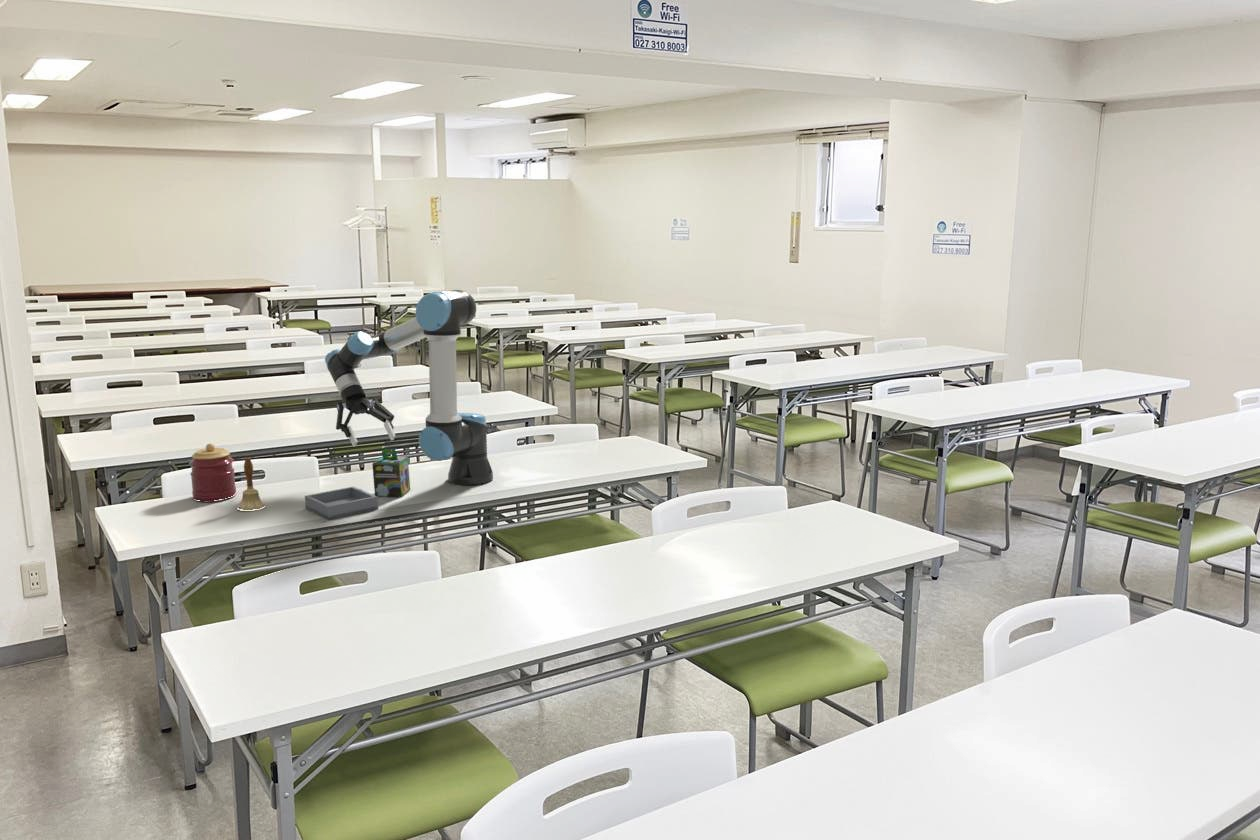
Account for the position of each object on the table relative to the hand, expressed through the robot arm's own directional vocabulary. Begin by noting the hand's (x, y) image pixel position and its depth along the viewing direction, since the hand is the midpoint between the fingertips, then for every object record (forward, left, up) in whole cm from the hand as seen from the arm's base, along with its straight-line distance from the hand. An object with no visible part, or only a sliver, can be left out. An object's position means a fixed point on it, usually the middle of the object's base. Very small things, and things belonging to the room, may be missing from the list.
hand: (374, 441), depth 318 cm
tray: (+20, +15, -16) cm, 29 cm away
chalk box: (0, +10, -16) cm, 19 cm away
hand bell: (+40, -5, -16) cm, 43 cm away
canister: (+44, -25, -16) cm, 53 cm away
